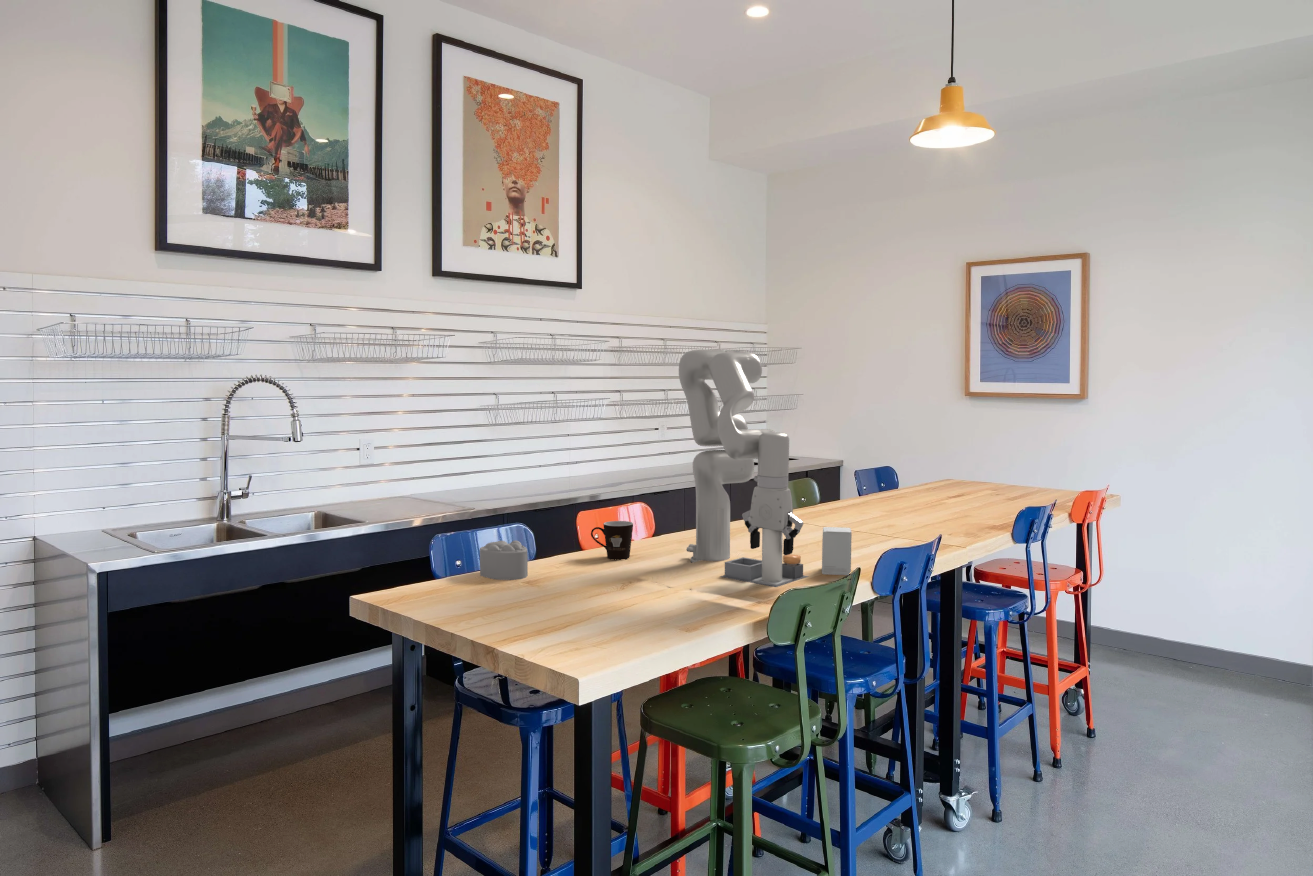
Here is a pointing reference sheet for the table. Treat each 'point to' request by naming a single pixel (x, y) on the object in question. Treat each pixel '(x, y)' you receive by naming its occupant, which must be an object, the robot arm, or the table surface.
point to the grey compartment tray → (760, 572)
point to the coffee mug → (616, 539)
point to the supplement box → (836, 551)
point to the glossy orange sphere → (791, 559)
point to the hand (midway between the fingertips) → (771, 551)
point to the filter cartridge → (772, 555)
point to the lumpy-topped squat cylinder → (504, 561)
